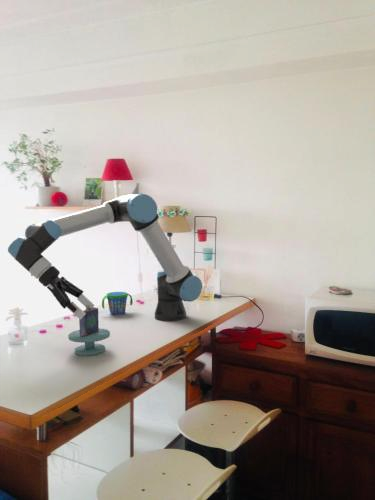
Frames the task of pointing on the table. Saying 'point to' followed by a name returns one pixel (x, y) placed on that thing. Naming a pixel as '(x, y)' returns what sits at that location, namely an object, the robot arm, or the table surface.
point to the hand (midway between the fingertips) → (87, 312)
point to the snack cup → (117, 302)
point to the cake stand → (89, 342)
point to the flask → (89, 322)
